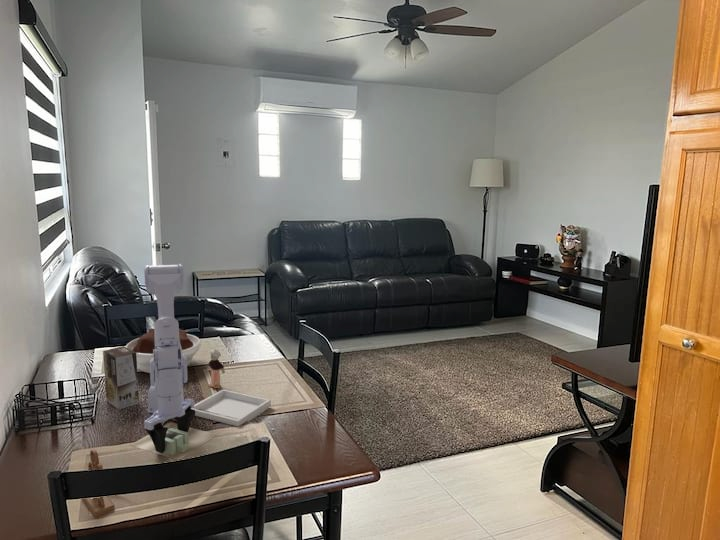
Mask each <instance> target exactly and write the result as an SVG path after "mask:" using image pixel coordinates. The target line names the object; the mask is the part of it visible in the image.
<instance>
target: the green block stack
mask: <svg viewBox="0 0 720 540" xmlns="http://www.w3.org/2000/svg"><path fill="white" fill-rule="evenodd" d="M169 432H175V437H174V438H173V439H169V438H168V433H169ZM188 444H189V440H188V432H184V431H181V430H177V429H174V428H170V429H168V431H167V432H166V437H165V451H164V452H165V453H168V454H172V455H173V454H174V453H176V451H180V452H185V451H186V450H188ZM155 450H156V449H155Z"/></svg>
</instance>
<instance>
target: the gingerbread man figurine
mask: <svg viewBox="0 0 720 540" xmlns="http://www.w3.org/2000/svg"><path fill="white" fill-rule="evenodd" d="M89 452H90V453H89V456H90V461H89V462H88V464H87V467H88V469H87V470H88V471H89V470H100V469H103V468H104V467H103V465H102V463H100V457H99V454H98V451H97V450H96V449H95V448H94V449H91V450H90V451H89ZM103 470H104V469H103ZM82 501H83V502H84V504H85V505H86V506H87V509H88V510H89V512H90V513H91V514H92V515H93V517H94V518H97V517H101V516H103V515H104V514H107V513H110V512H112V511H115V507H116V506H115V504H114V503H113V502H112V500H111V499H110V497H109V496H108V497H100V498H93V499H84V500H83V499H82Z"/></svg>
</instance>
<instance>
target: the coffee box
mask: <svg viewBox="0 0 720 540" xmlns="http://www.w3.org/2000/svg"><path fill="white" fill-rule="evenodd" d="M102 355H103V366H104V367H103V371H104V381H105V394H106V402H107V403H109V404H110V405H112V406H113V407H114V408H116V409H118V410H122V409H125V408H128V407H133V406H137V405H140V397H139V395H140V394H139V381H138V367H137V357H136V352H134V351H132V350H130V349H128V348H126V346H124V345H123V346H118V347H113V348H110V349H106V350H102Z"/></svg>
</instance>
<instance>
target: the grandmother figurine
mask: <svg viewBox="0 0 720 540" xmlns="http://www.w3.org/2000/svg"><path fill="white" fill-rule="evenodd" d="M209 354H210V359H211V360H209V362H208V364H207V370H210V374H211V375H210V383H209V384H208V385H207V387H208V388H213V389H214V388H219V387H220V386H222V384H221V374H225V373H226V371H225V366H224V365H223V364H222V362H221V361H220V360H219V358H220V357H222V353H221V352H220V351H219V350H218V349H211V350H210V351H209ZM220 371H221V373H220ZM220 388H221V387H220ZM220 388H219V389H220Z"/></svg>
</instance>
